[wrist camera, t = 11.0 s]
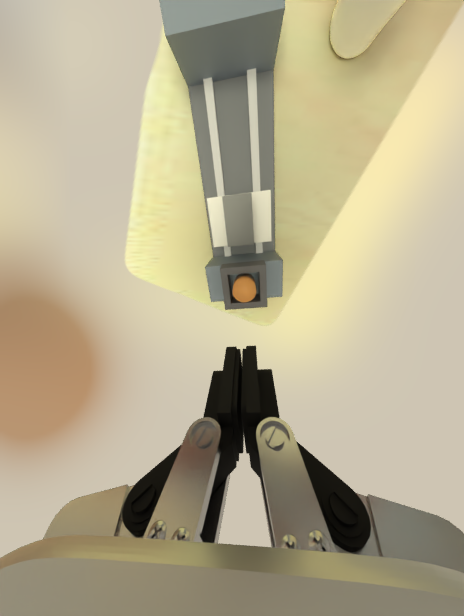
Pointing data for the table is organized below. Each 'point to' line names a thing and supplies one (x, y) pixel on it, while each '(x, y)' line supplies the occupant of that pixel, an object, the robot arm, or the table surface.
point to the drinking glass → (359, 24)
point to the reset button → (244, 287)
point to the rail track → (232, 120)
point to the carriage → (240, 218)
